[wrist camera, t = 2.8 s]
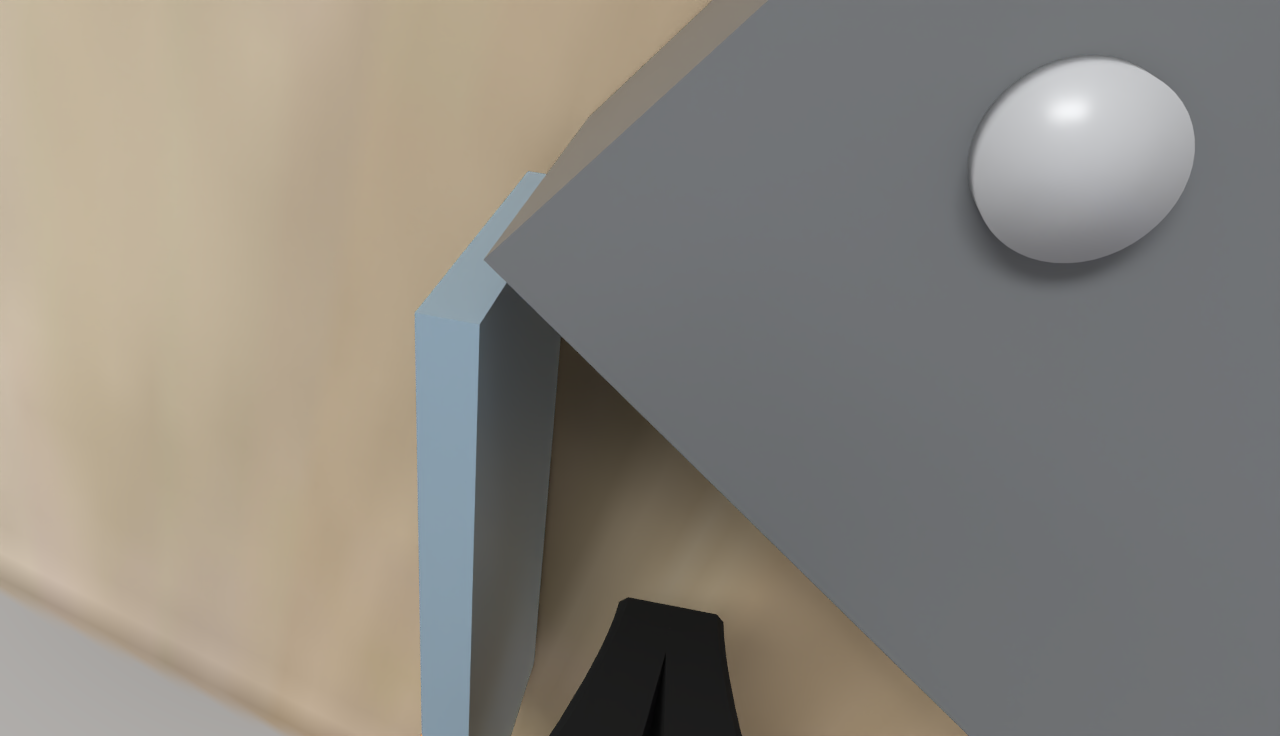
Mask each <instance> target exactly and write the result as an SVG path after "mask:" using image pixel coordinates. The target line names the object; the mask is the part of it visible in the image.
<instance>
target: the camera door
mask: <svg viewBox="0 0 1280 736" xmlns="http://www.w3.org/2000/svg"><path fill="white" fill-rule="evenodd" d="M545 176H546V174H542V173H536V172H530V171H528V172H527V173H526V175H525V176H524V177H523V178H522V180H521V181H520V182H519V183H518V185H517V186H516V187H515V188H514V190H513V191H512V192H511V193H510V195H509V196H508V197H507V198H506V200H505V201H504V202H503V203H502V205H501V206H500V207H499V208H498V210H497V211H496V212H495V213H494V215H493V216H492V217H491V218H490V220H489V221H488V222H487V223H486V225H485V226H484V227H483V228H482V230H481V231H480V232H479V233H478V235H477V236H476V237H475V238H474V240H473V241H472V242H471V243H470V245H469V246H468V247H467V248H466V250H465V251H464V252H463V253H462V255H461V256H460V257H459V258H458V260H457V261H456V262H455V263H454V265H453V266H452V267H451V268H450V270H449V271H448V272H447V273H446V275H445V276H444V277H443V278H442V280H441V281H440V282H439V283H438V285H437V286H436V287H435V288H434V290H433V291H432V292H431V293H430V295H429V296H428V297H427V298H426V300H425V301H424V302H423V303H422V305H421V306H420V307H419V308H418V310H417V311H416V312H415V354H416V414H417V473H418V533H419V592H420V652H421V712H422V733H421V736H511V734H512V731H513V727H514V724H515V721H516V718H517V715H518V712H519V708H520V705H521V702H522V699H523V696H524V693H525V689H526V686H527V683H528V680H529V677H530V674H531V670H532V667H533V664H534V657H535V645H536V632H537V620H538V608H539V596H540V584H541V572H542V560H543V548H544V535H545V523H546V511H547V499H548V487H549V475H550V463H551V451H552V438H553V426H554V414H555V402H556V390H557V378H558V366H559V354H560V342H561V335H560V334H559V333H558V332H557V331H556V330H554V329H553V328H552V327H551V326H550V325H549V324H548V323H547V322H546V321H545V320H544V319H543V318H542V317H541V316H540V315H539V314H538V313H537V312H536V311H535V310H534V309H533V308H532V307H531V306H530V305H529V304H528V303H527V302H526V301H525V300H524V299H523V298H522V297H521V296H520V295H519V294H518V293H517V292H516V291H515V290H514V289H513V288H512V287H511V286H510V285H509V284H508V283H507V282H506V281H505V280H504V279H503V278H501V277H500V276H499V275H498V274H497V273H496V272H495V271H494V270H493V269H492V268H491V267H490V266H489V265H488V264H487V263H486V262H485V261H484V258H485V257H486V255H487V254H488V253H489V251H490V250H491V249H492V247H493V246H494V245H495V243H496V242H497V241H498V239H499V238H500V237H501V235H502V234H503V232H504V231H505V230H506V228H507V227H508V226H509V224H510V223H511V222H512V220H513V219H514V218H515V216H516V215H517V213H518V212H519V211H520V209H521V208H522V207H523V205H524V204H525V203H526V201H527V200H528V199H529V197H530V196H531V195H532V193H533V192H534V190H535V189H536V188H537V186H538V185H539V184H540V182H541V181H542V180H543V178H544V177H545Z"/></svg>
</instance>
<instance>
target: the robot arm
mask: <svg viewBox="0 0 1280 736" xmlns="http://www.w3.org/2000/svg"><path fill="white" fill-rule="evenodd" d="M549 736H742V734H741V731H740V727H739V722H738V718H737V713H736V709H735V704H734V699H733V694H732V689H731V684H730V679H729V672H728V666H727V659H726V652H725V642H724V626H723V621H722V620H721V619H720V618H719V616H718V615H716V614H711V613H706V612H701V611H696V610H691V609H686V608H680V607H675V606H670V605H665V604H660V603H655V602H650V601H644V600H639V599H634V598H629V597H628V598H626V599H624V600H622V601H620V602H619V605H618V608H617V611H616V614H615V617H614V620H613V622H612V624H611V627H610V629H609V632H608V634H607V636H606V638H605V640H604V643H603V645H602V647H601V649H600V651H599V653H598V655H597V657H596V658H595V660H594V662H593V664H592V666H591V668H590V670H589V671H588V673H587V675H586V677H585V679H584V680H583V682H582V684H581V685H580V687H579V689H578V690H577V692H576V694H575V695H574V697H573V699H572V700H571V702H570V704H569V705H568V707H567V709H566V710H565V712H564V714H563V715H562V717H561V719H560V720H559V722H558V723H557V725H556V726H555V728H554V729H553V731H552V732H551V734H550V735H549Z"/></svg>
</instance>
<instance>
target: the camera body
mask: <svg viewBox="0 0 1280 736" xmlns="http://www.w3.org/2000/svg"><path fill="white" fill-rule="evenodd" d="M484 261H485V262H486V263H487V264H488V265H489V266H490V267H491V268H492V269H493V270H494V271H495V272H496V273H497V274H498V275H499V276H500V277H501V278H503V279H504V280H505V281H506V282H507V283H508V284H509V285H510V286H511V287H512V288H513V289H514V290H515V291H516V292H517V293H518V294H519V295H520V296H521V297H522V298H523V299H524V300H525V301H526V302H527V303H528V304H529V305H530V306H531V307H532V308H533V309H534V310H535V311H536V312H537V313H538V314H539V315H540V316H541V317H542V318H543V319H544V320H545V321H546V322H547V323H548V324H549V325H550V326H551V327H552V328H553V329H554V330H556V331H557V332H558V333H559V334H560V335H561V336H562V337H563V338H564V339H565V340H566V341H567V342H568V343H569V344H570V345H571V346H572V347H573V348H574V349H575V350H576V351H577V352H578V353H579V354H580V355H581V356H582V357H583V358H584V359H585V360H586V361H587V362H588V363H589V364H590V365H591V366H592V367H593V368H594V369H595V370H596V371H597V372H598V373H599V374H600V375H601V376H602V377H603V378H604V379H605V380H606V381H608V382H609V383H610V384H611V385H612V386H613V387H614V388H615V389H616V390H617V391H618V392H619V393H620V394H621V395H622V396H623V397H624V398H625V399H626V400H627V401H628V402H629V403H630V404H631V405H632V406H633V407H634V408H635V409H636V410H637V411H638V412H639V413H640V414H641V415H642V416H643V417H644V418H645V419H646V420H647V421H648V422H649V423H650V424H651V425H652V426H653V427H654V428H655V429H656V430H657V431H658V432H659V433H661V434H662V435H663V436H664V437H665V438H666V439H667V440H668V441H669V442H670V443H671V444H672V445H673V446H674V447H675V448H676V449H677V450H678V451H679V452H680V453H681V454H682V455H683V456H684V457H685V458H686V459H687V460H688V461H689V462H690V463H691V464H692V465H693V466H694V467H695V468H696V469H697V470H698V471H699V472H700V473H701V474H702V475H703V476H704V477H705V478H706V479H707V480H708V481H709V482H710V483H711V484H712V485H714V486H715V487H716V488H717V489H718V490H719V491H720V492H721V493H722V494H723V495H724V496H725V497H726V498H727V499H728V500H729V501H730V502H731V503H732V504H733V505H734V506H735V507H736V508H737V509H738V510H739V511H740V512H741V513H742V514H743V515H744V516H745V517H746V518H747V519H748V520H749V521H750V522H751V523H752V524H753V525H754V526H755V527H756V528H757V529H758V530H759V531H760V532H761V533H762V534H763V535H764V536H766V537H767V538H768V539H769V540H770V541H771V542H772V543H773V544H774V545H775V546H776V547H777V548H778V549H779V550H780V551H781V552H782V553H783V554H784V555H785V556H786V557H787V558H788V559H789V560H790V561H791V562H792V563H793V564H794V565H795V566H796V567H797V568H798V569H799V570H800V571H801V572H802V573H803V574H804V575H805V576H806V577H807V578H808V579H809V580H810V581H811V582H812V583H813V584H814V585H815V586H816V587H817V588H819V589H820V590H821V591H822V592H823V593H824V594H825V595H826V596H827V597H828V598H829V599H830V600H831V601H832V602H833V603H834V604H835V605H836V606H837V607H838V608H839V609H840V610H841V611H842V612H843V613H844V614H845V615H846V616H847V617H848V618H849V619H850V620H851V621H852V622H853V623H854V624H855V625H856V626H857V627H858V628H859V629H860V630H861V631H862V632H863V633H864V634H865V635H866V636H867V637H868V638H869V639H870V640H872V641H873V642H874V643H875V644H876V645H877V646H878V647H879V648H880V649H881V650H882V651H883V652H884V653H885V654H886V655H887V656H888V657H889V658H890V659H891V660H892V661H893V662H894V663H895V664H896V665H897V666H898V667H899V668H900V669H901V670H902V671H903V672H904V673H905V674H906V675H907V676H908V677H909V678H910V679H911V680H912V681H913V682H914V683H915V684H916V685H917V686H918V687H919V688H920V689H921V690H922V691H924V692H925V693H926V694H927V695H928V696H929V697H930V698H931V699H932V700H933V701H934V702H935V703H936V704H937V705H938V706H939V707H940V708H941V709H942V710H943V711H944V712H945V713H946V714H947V715H948V716H949V717H950V718H951V719H952V720H953V721H954V722H955V723H956V724H957V725H958V726H959V727H960V728H961V729H962V730H963V731H964V732H965V733H966V734H967V735H968V736H1280V0H712V1H711V2H710V3H709V4H708V5H707V6H706V7H705V8H704V9H703V10H702V11H701V12H699V13H698V14H697V15H696V16H695V17H694V18H693V19H692V20H691V21H690V22H689V23H688V24H687V25H686V26H685V27H684V28H683V29H681V30H680V31H679V32H678V33H677V34H676V35H675V36H674V37H673V38H672V39H671V40H670V41H669V42H668V43H667V44H666V45H665V46H663V47H662V48H661V49H660V50H659V51H658V52H657V53H656V54H655V55H654V56H653V57H652V58H651V59H650V60H649V61H648V62H647V63H645V64H644V65H643V66H642V67H641V68H640V69H639V70H638V71H637V72H636V73H635V74H634V75H633V76H632V77H631V78H630V79H629V80H627V81H626V82H625V83H624V84H623V85H622V86H621V87H620V88H619V89H618V90H617V91H616V92H615V93H614V94H613V95H612V96H611V97H609V98H608V99H607V100H606V101H605V102H604V103H603V104H602V105H601V106H600V107H599V108H598V109H597V110H596V111H595V112H594V113H593V114H591V115H590V116H589V117H588V119H587V120H586V121H585V123H584V124H583V125H582V127H581V128H580V130H579V131H578V132H577V134H576V135H575V136H574V138H573V139H572V140H571V142H570V143H569V144H568V146H567V147H566V148H565V150H564V151H563V153H562V154H561V155H560V157H559V158H558V159H557V161H556V162H555V163H554V165H553V166H552V167H551V169H550V170H549V171H548V173H547V174H546V176H545V177H544V178H543V180H542V181H541V182H540V184H539V185H538V186H537V188H536V189H535V190H534V192H533V193H532V195H531V196H530V197H529V199H528V200H527V201H526V203H525V204H524V205H523V207H522V208H521V209H520V211H519V212H518V213H517V215H516V216H515V218H514V219H513V220H512V222H511V223H510V224H509V226H508V227H507V228H506V230H505V231H504V232H503V234H502V235H501V237H500V238H499V239H498V241H497V242H496V243H495V245H494V246H493V247H492V249H491V250H490V251H489V253H488V254H487V255H486V257H485V258H484Z"/></svg>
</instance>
